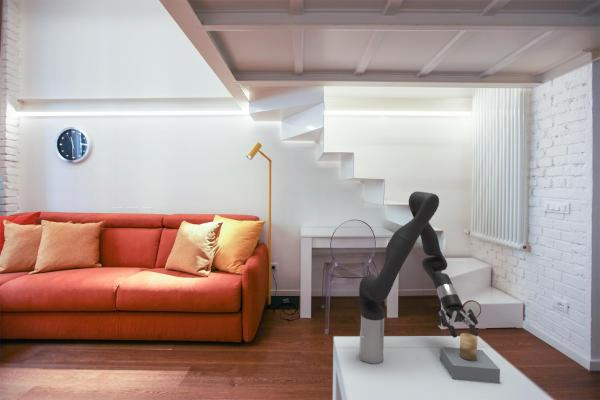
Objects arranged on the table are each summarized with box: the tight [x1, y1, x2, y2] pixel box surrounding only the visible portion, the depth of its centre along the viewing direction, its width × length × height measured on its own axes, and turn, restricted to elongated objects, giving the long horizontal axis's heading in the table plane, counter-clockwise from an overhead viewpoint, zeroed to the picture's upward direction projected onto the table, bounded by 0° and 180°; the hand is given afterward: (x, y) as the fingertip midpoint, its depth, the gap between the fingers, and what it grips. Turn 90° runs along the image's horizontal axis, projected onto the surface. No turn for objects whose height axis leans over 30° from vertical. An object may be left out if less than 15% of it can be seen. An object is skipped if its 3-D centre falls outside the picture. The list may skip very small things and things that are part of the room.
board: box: [439, 346, 501, 384], centre depth 120 cm, size 16×14×5 cm
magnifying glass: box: [462, 299, 482, 334], centre depth 141 cm, size 9×2×20 cm, turn 91°
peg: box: [459, 332, 478, 361], centre depth 120 cm, size 6×6×13 cm
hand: (465, 336), depth 121 cm, fingers open, 8 cm apart
